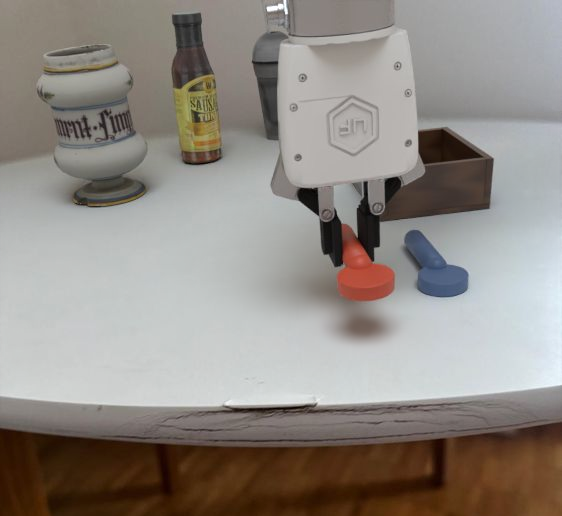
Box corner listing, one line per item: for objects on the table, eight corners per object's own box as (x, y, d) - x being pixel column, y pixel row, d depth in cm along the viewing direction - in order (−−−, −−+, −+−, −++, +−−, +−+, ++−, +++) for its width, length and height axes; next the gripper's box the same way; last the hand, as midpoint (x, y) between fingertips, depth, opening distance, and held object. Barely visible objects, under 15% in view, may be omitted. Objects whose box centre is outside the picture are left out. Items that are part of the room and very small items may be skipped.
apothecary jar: (45, 205, 92) (5, 57, 82) (104, 178, 100) (75, 42, 91) (116, 213, 86) (83, 57, 77) (172, 184, 95) (148, 40, 86)
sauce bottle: (201, 167, 101) (180, 15, 91) (173, 162, 105) (150, 15, 95) (233, 156, 105) (216, 9, 95) (205, 151, 109) (186, 9, 99)
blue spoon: (390, 248, 71) (390, 229, 69) (432, 243, 71) (432, 224, 70) (425, 299, 60) (426, 278, 59) (475, 293, 61) (476, 272, 59)
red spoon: (316, 245, 62) (314, 223, 61) (364, 238, 62) (363, 217, 61) (343, 305, 52) (342, 280, 51) (401, 296, 52) (401, 272, 51)
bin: (444, 170, 91) (447, 126, 88) (489, 208, 78) (494, 158, 75) (350, 181, 90) (349, 137, 87) (380, 221, 77) (379, 171, 74)
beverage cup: (294, 142, 110) (285, -1, 99) (252, 141, 112) (238, 2, 101) (308, 130, 115) (300, -6, 105) (267, 130, 118) (256, -3, 107)
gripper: (231, 33, 45) (262, 290, 55) (470, 5, 46) (458, 263, 56) (224, 22, 51) (253, 254, 61) (434, -3, 52) (429, 230, 62)
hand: (350, 257), depth 58 cm, fingers closed on red spoon, 2 cm apart
